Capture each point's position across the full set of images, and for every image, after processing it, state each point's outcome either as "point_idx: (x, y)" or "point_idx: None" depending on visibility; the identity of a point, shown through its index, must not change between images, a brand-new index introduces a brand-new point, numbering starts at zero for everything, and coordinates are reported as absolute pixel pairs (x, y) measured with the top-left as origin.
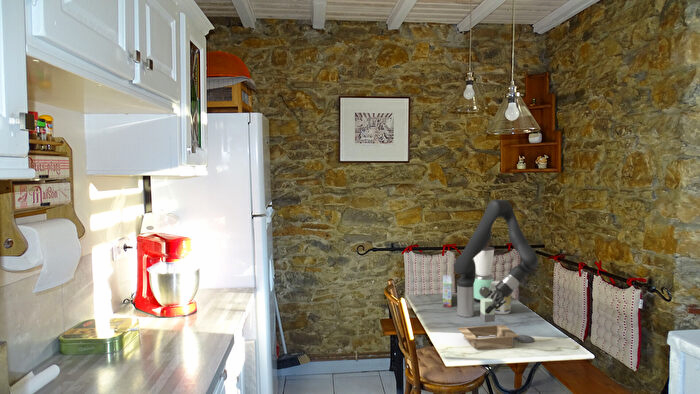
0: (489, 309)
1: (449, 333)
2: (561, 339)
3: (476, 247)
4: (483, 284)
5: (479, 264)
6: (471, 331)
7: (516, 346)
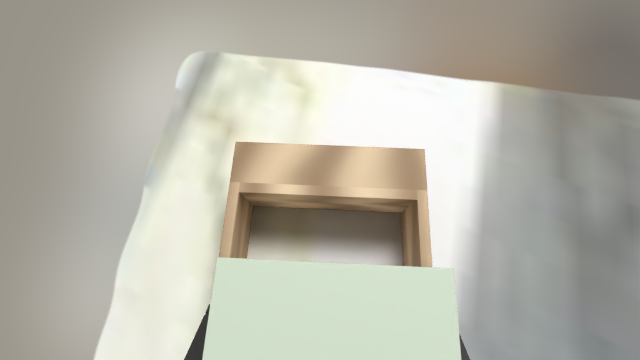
0: (205, 317)
1: (467, 154)
2: None
3: None
4: None
5: None
6: (411, 238)
7: None
